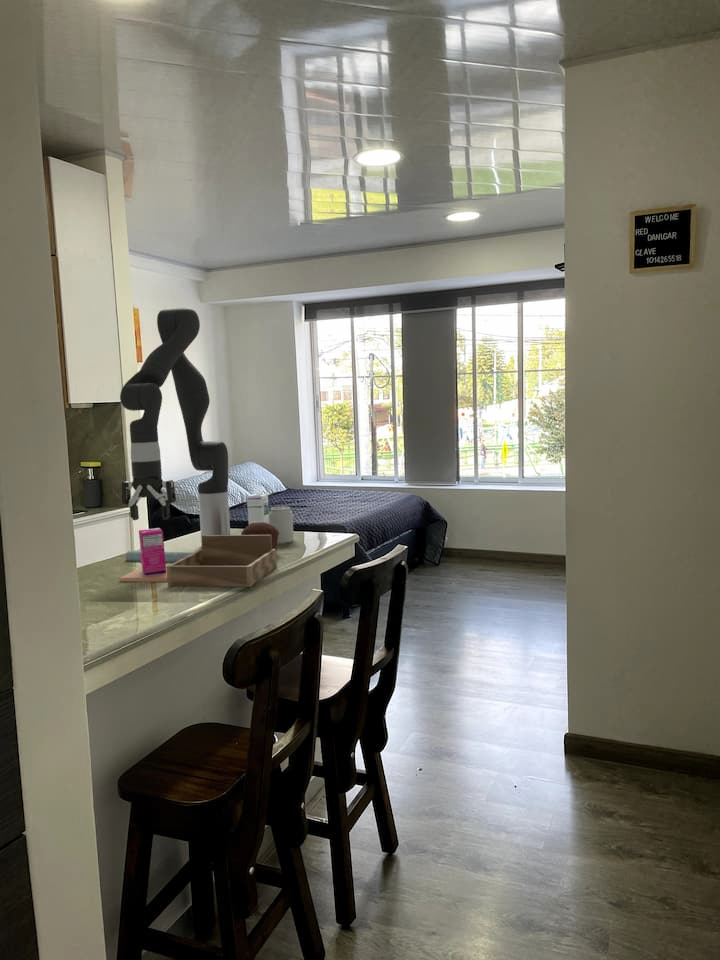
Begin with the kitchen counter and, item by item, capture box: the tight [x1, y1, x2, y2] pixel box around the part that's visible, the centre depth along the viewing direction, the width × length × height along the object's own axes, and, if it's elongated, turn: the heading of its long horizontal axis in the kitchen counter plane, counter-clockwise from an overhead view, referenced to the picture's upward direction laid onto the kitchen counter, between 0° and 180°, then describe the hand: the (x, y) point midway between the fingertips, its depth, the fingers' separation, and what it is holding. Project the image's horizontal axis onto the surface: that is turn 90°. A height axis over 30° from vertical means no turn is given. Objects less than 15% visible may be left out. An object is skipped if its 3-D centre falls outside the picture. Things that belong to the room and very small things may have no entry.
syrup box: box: [246, 493, 270, 525], centre depth 254 cm, size 6×6×14 cm
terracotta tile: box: [119, 566, 168, 583], centre depth 200 cm, size 13×13×1 cm
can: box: [269, 506, 295, 544], centre depth 239 cm, size 8×8×12 cm
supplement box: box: [138, 527, 167, 575], centre depth 200 cm, size 6×6×12 cm
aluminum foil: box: [125, 550, 193, 563], centre depth 217 cm, size 23×7×3 cm, turn 73°
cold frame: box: [166, 534, 278, 588], centre depth 196 cm, size 22×22×9 cm
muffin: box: [240, 522, 280, 552], centre depth 220 cm, size 12×11×10 cm
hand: (150, 519), depth 199 cm, fingers open, 8 cm apart
